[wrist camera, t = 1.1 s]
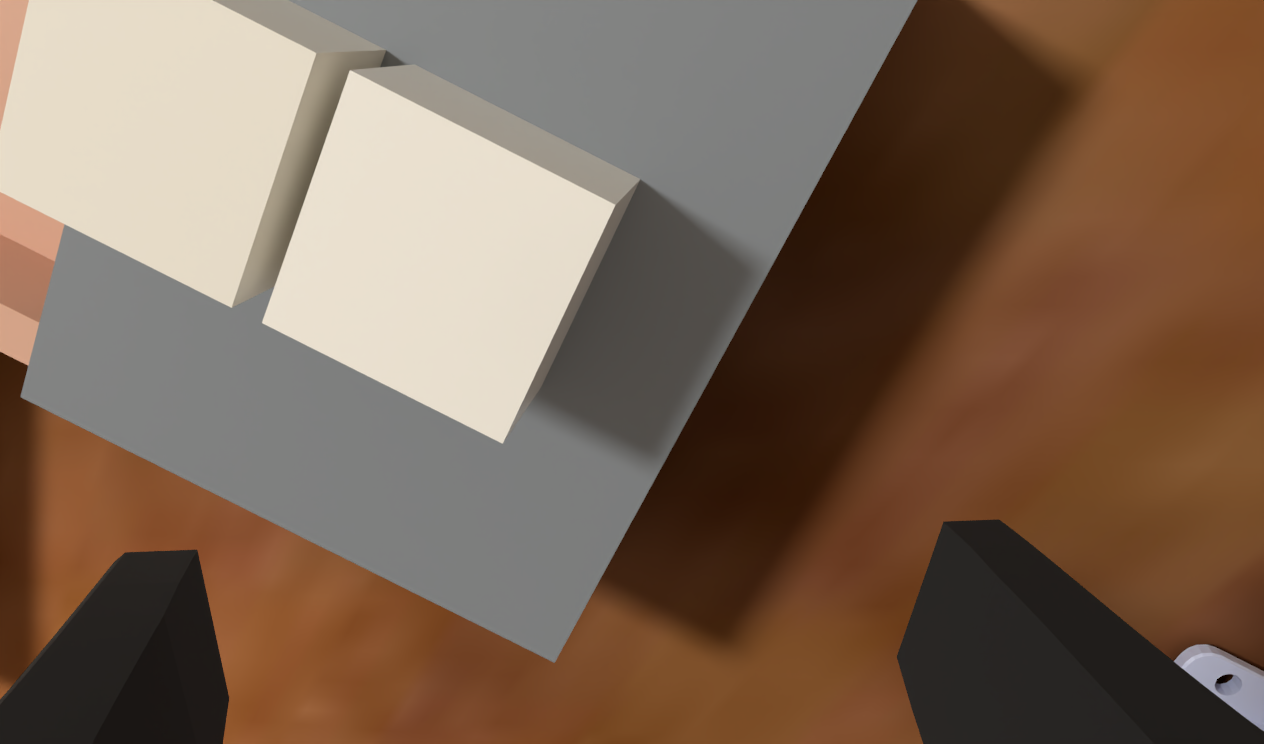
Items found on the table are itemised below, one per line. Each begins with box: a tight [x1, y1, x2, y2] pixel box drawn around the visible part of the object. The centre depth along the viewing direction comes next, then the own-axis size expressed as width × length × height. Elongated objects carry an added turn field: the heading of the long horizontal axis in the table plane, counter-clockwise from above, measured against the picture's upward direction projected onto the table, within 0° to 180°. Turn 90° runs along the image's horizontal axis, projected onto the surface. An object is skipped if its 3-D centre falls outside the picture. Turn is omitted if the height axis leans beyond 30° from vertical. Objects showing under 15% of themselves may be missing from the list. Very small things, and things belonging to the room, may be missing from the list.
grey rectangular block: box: [20, 0, 917, 663], centre depth 18 cm, size 11×14×4 cm
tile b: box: [0, 0, 386, 308], centre depth 15 cm, size 4×4×2 cm
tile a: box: [262, 65, 640, 444], centre depth 15 cm, size 4×4×2 cm
